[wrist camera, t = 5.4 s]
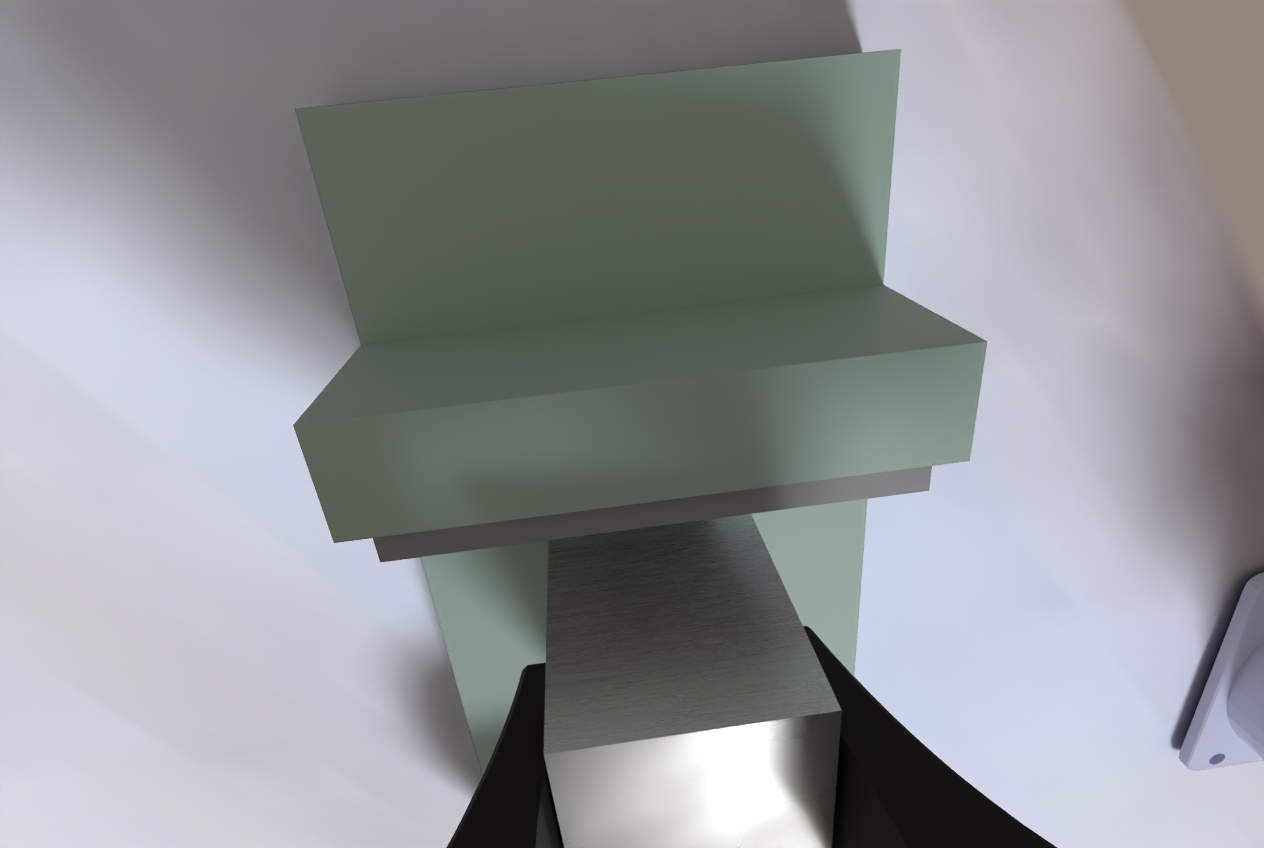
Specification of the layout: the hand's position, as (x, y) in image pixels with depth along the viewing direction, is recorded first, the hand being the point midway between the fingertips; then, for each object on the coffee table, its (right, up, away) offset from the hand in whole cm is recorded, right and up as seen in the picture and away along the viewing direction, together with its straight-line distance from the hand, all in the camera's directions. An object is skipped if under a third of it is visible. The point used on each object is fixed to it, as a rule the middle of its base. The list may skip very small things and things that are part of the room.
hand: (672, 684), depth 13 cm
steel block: (0, 0, +2) cm, 2 cm away
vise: (0, +2, +4) cm, 5 cm away
